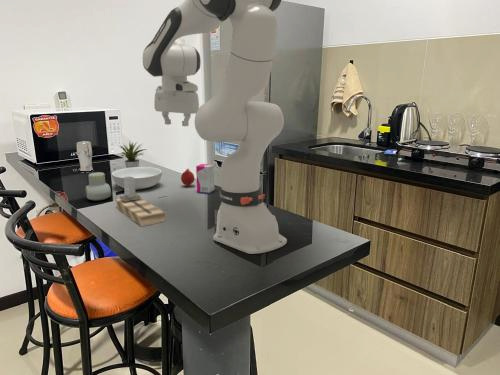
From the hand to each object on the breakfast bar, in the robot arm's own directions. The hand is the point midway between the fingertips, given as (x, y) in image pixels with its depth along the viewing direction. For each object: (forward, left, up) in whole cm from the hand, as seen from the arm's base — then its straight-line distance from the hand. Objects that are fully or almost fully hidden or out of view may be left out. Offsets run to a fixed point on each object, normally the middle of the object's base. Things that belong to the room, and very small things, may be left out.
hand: (176, 125), depth 138 cm
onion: (+18, -13, -29) cm, 37 cm away
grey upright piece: (+3, +18, -26) cm, 32 cm away
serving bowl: (+30, +5, -29) cm, 42 cm away
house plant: (+57, -2, -29) cm, 64 cm away
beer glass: (+75, +15, -29) cm, 82 cm away
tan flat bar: (-5, +18, -29) cm, 35 cm away
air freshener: (+22, +24, -29) cm, 44 cm away
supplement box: (+6, -15, -29) cm, 33 cm away
